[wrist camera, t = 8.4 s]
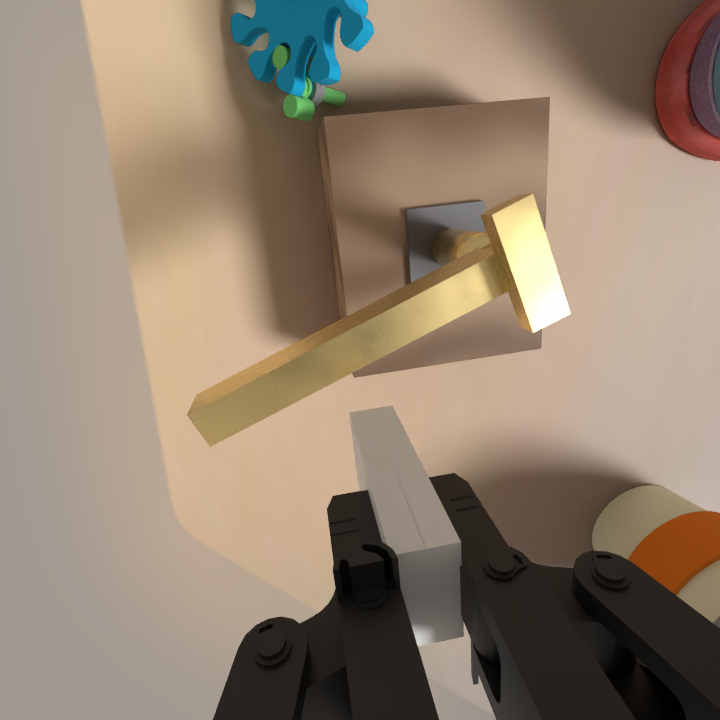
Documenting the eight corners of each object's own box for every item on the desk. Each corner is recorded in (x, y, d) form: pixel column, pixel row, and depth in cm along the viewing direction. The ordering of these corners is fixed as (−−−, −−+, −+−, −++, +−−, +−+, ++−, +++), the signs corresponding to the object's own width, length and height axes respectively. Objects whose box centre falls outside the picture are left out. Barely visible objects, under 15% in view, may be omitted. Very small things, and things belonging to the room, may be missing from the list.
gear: (218, -165, 21) (397, -219, 16) (306, -98, 25) (465, -124, 20) (212, 104, 25) (348, 126, 21) (287, 120, 30) (413, 141, 25)
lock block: (317, 132, 27) (324, 115, 22) (505, 115, 28) (553, 95, 23) (343, 352, 32) (354, 379, 27) (504, 328, 33) (543, 349, 28)
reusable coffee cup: (685, 568, 44) (870, 734, 30) (567, 591, 43) (705, 778, 29) (709, 457, 40) (936, 591, 26) (579, 478, 39) (748, 632, 25)
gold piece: (449, 197, 24) (538, 190, 15) (480, 277, 26) (575, 311, 17) (200, 327, 24) (155, 391, 16) (247, 399, 26) (229, 491, 17)
